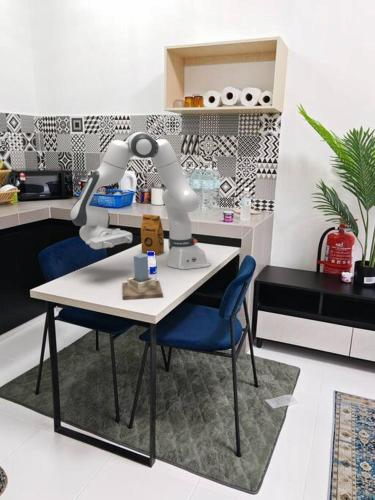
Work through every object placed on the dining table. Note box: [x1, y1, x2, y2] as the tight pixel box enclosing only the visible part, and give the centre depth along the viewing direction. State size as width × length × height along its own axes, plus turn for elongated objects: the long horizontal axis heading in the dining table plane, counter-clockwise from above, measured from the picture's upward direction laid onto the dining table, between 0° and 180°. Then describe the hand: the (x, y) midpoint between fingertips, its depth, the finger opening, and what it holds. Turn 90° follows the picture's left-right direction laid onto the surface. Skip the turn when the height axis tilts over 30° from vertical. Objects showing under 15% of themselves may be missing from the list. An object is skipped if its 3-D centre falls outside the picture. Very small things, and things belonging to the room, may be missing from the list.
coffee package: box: [140, 213, 165, 256], centre depth 220 cm, size 10×12×22 cm
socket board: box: [121, 275, 164, 301], centre depth 164 cm, size 16×16×6 cm
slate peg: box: [133, 253, 149, 283], centre depth 163 cm, size 4×4×14 cm
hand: (121, 243), depth 171 cm, fingers open, 8 cm apart
